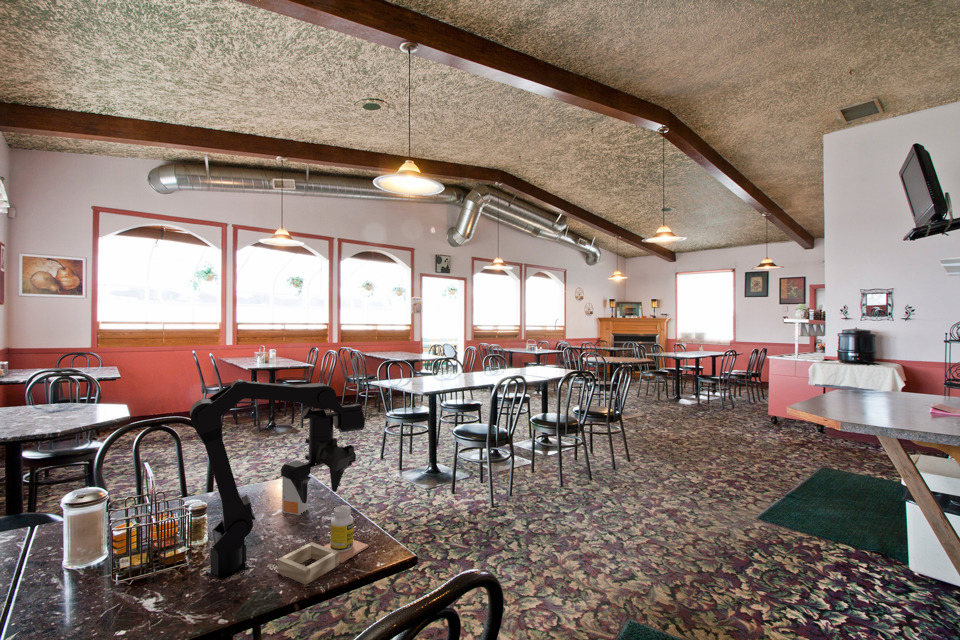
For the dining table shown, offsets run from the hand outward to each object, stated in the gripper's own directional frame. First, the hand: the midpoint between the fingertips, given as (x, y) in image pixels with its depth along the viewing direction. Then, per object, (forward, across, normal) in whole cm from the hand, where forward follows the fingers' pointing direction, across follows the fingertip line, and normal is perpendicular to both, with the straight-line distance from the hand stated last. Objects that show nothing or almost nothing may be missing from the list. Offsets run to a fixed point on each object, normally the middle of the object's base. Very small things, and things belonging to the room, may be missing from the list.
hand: (319, 497), depth 117 cm
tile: (+12, +2, -6) cm, 14 cm away
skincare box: (+13, +11, +23) cm, 29 cm away
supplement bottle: (+12, +2, -6) cm, 14 cm away
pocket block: (+13, -8, -6) cm, 16 cm away
